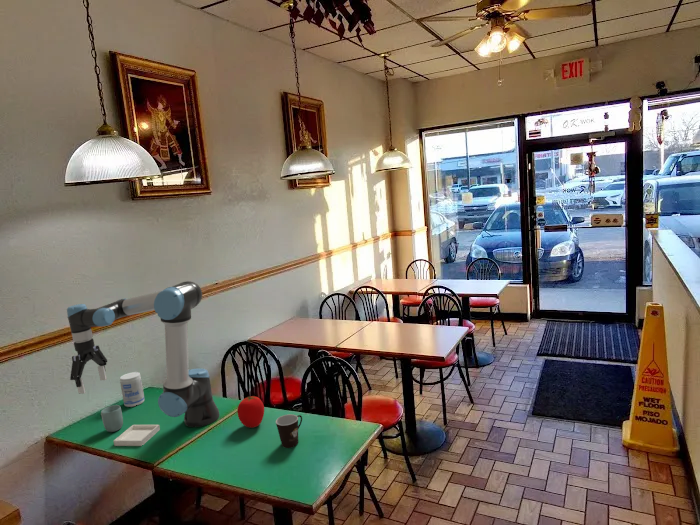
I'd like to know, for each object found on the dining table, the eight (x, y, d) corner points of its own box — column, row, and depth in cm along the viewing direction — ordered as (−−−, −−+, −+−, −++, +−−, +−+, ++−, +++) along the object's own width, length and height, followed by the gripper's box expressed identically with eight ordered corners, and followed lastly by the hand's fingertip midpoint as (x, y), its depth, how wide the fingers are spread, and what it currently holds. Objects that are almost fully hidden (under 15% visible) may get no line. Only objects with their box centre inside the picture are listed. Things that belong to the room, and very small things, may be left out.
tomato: (248, 435, 197) (243, 406, 195) (235, 427, 205) (231, 399, 203) (271, 424, 204) (267, 396, 202) (258, 416, 212) (254, 389, 210)
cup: (116, 434, 210) (112, 413, 208) (101, 434, 212) (97, 413, 210) (128, 425, 217) (124, 404, 216) (113, 425, 219) (109, 404, 217)
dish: (160, 429, 210) (159, 424, 210) (142, 445, 197) (141, 440, 197) (133, 429, 213) (132, 424, 212) (114, 445, 200) (113, 440, 200)
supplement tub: (126, 409, 235) (120, 381, 232) (122, 403, 242) (117, 376, 240) (147, 402, 240) (142, 375, 238) (142, 396, 248) (137, 370, 245)
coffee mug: (283, 452, 181) (280, 427, 180) (276, 442, 189) (272, 419, 187) (311, 442, 186) (308, 418, 185) (303, 432, 194) (300, 409, 192)
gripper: (95, 331, 219) (104, 375, 223) (53, 350, 195) (64, 399, 199) (109, 330, 218) (119, 374, 221) (69, 349, 194) (80, 399, 197)
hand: (93, 386), depth 210 cm, fingers open, 13 cm apart
